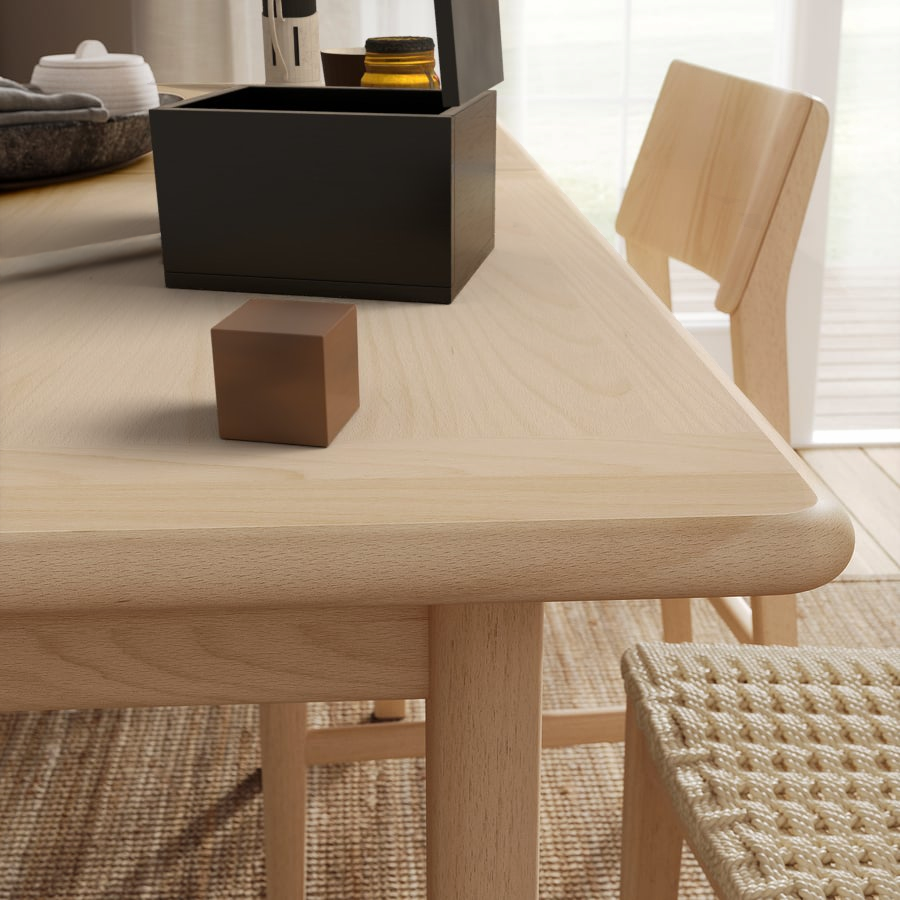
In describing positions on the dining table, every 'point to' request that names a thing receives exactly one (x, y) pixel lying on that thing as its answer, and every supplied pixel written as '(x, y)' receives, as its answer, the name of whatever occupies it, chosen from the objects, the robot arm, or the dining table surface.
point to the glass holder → (291, 42)
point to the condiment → (400, 63)
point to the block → (286, 371)
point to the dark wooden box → (326, 191)
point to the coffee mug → (343, 66)
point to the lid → (468, 48)
